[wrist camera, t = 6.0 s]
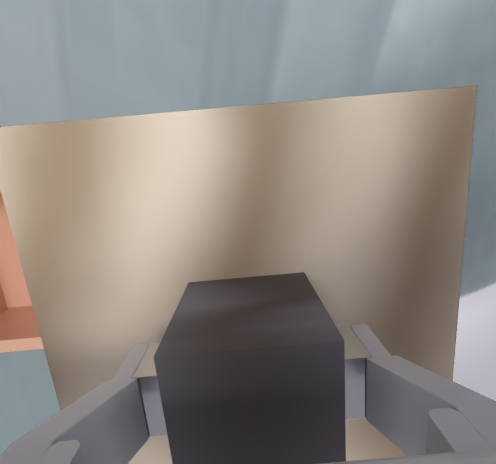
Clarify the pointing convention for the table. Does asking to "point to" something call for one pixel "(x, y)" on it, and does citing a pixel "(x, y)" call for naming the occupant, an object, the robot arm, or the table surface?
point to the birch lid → (246, 260)
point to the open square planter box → (14, 296)
